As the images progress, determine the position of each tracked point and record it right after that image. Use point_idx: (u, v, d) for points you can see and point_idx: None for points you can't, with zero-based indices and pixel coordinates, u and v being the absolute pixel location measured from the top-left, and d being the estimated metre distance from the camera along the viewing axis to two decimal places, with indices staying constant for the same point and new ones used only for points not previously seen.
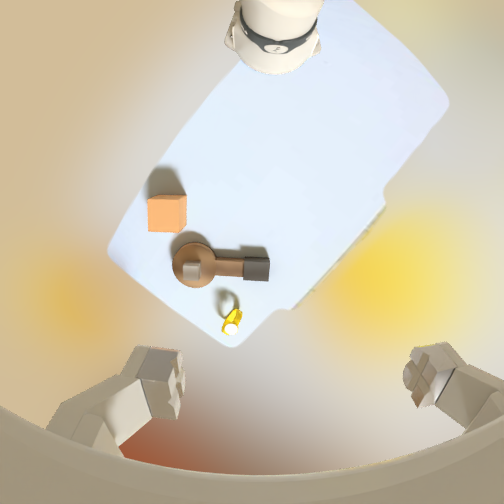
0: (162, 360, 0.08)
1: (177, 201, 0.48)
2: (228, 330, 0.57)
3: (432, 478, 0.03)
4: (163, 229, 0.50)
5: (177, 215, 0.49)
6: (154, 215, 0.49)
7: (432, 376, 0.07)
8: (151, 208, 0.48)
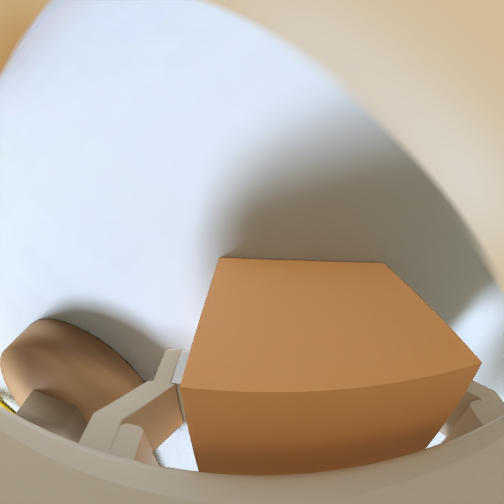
0: None
1: None
2: None
3: (432, 478, 0.03)
4: (218, 470, 0.05)
5: None
6: (345, 429, 0.04)
7: None
8: (408, 407, 0.04)
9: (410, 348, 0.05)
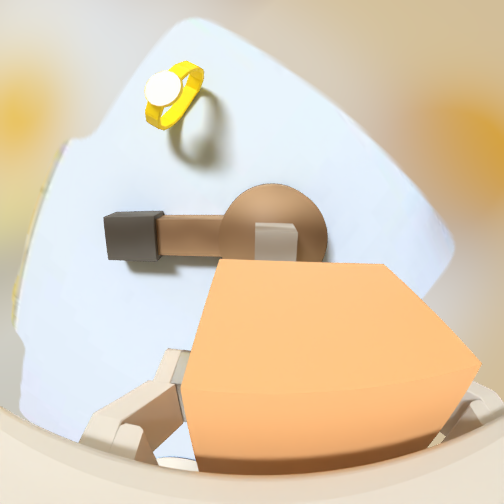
0: None
1: None
2: (169, 83, 0.16)
3: (432, 478, 0.03)
4: (219, 471, 0.05)
5: None
6: (346, 430, 0.04)
7: None
8: (408, 408, 0.04)
9: (410, 349, 0.05)
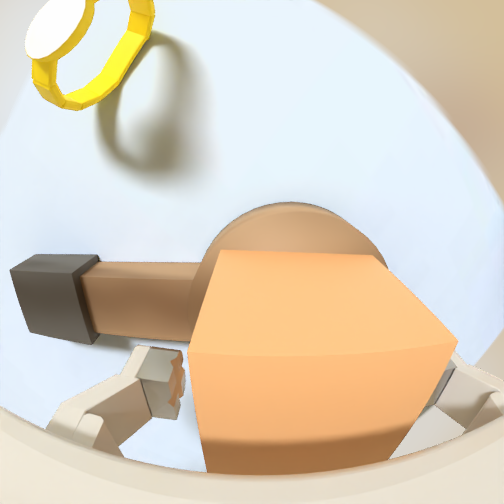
0: (162, 360, 0.07)
1: None
2: (66, 9, 0.04)
3: (432, 478, 0.03)
4: (219, 440, 0.06)
5: None
6: (332, 397, 0.05)
7: None
8: (389, 379, 0.05)
9: (390, 325, 0.06)
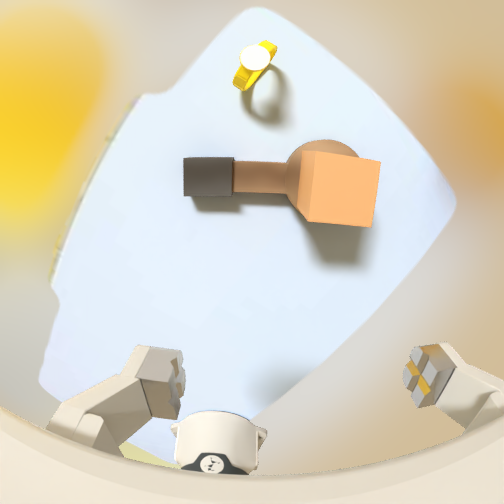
0: (162, 360, 0.08)
1: (368, 224, 0.24)
2: (261, 54, 0.21)
3: (432, 478, 0.03)
4: (317, 187, 0.23)
5: (343, 221, 0.24)
6: (348, 170, 0.22)
7: (432, 376, 0.07)
8: (362, 168, 0.22)
9: None
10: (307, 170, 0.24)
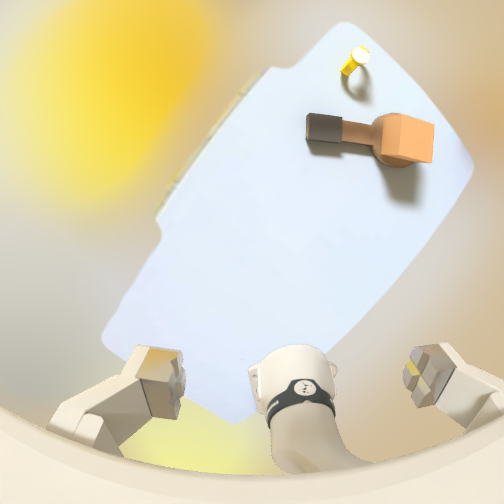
0: (162, 360, 0.08)
1: (430, 161, 0.33)
2: (364, 54, 0.31)
3: (432, 478, 0.03)
4: (403, 135, 0.32)
5: (417, 157, 0.33)
6: (418, 127, 0.32)
7: (432, 376, 0.07)
8: (425, 127, 0.31)
9: None
10: (393, 127, 0.34)
